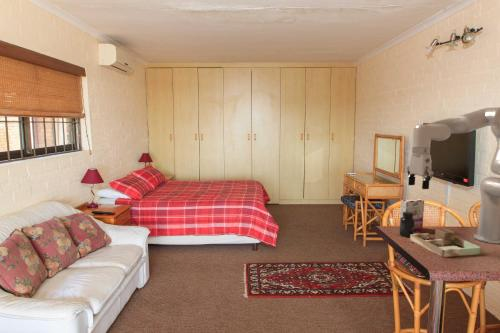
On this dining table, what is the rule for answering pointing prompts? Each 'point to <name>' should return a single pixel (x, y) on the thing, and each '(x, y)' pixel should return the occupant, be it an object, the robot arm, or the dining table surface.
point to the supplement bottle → (407, 224)
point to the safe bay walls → (466, 248)
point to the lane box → (433, 244)
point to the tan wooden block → (445, 236)
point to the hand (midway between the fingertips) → (418, 187)
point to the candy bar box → (414, 211)
